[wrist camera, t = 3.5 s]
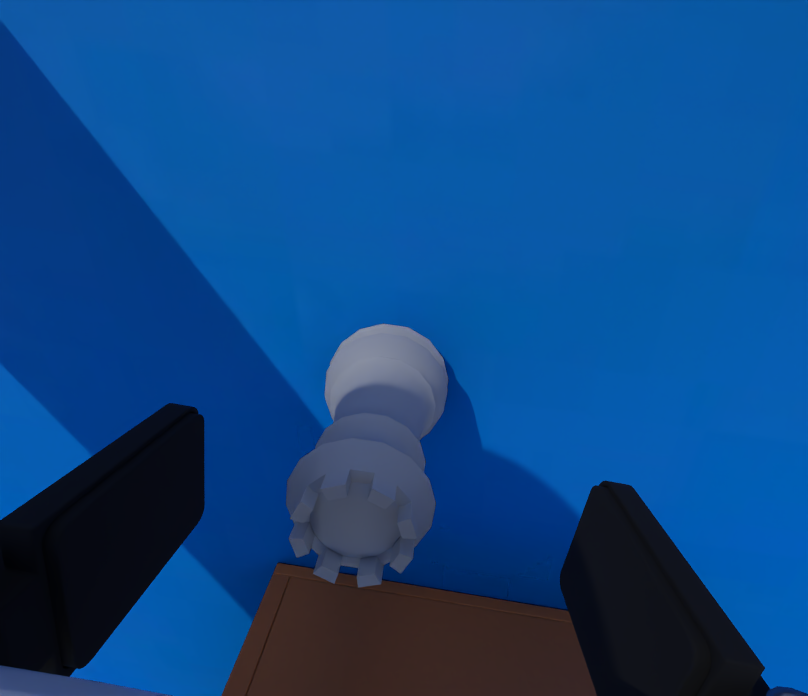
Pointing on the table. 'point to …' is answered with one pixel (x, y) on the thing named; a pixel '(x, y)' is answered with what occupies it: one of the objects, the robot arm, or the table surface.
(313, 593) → the bin
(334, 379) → the rook chess piece
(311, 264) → the table surface
